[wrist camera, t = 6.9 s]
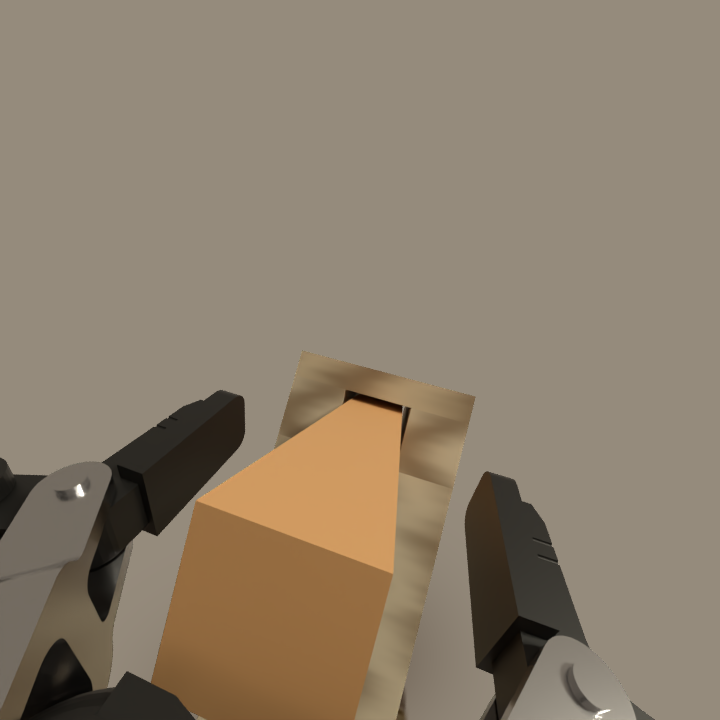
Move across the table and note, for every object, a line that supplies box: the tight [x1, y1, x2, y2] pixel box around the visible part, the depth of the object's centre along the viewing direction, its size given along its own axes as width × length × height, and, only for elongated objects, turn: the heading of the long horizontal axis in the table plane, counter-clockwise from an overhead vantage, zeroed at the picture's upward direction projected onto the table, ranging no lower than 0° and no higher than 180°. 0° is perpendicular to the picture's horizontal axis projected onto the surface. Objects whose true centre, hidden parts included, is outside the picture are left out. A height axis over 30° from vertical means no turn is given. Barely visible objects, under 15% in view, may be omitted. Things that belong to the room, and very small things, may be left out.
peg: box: [151, 394, 403, 720], centre depth 13 cm, size 3×18×3 cm, turn 172°
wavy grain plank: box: [197, 351, 475, 720], centre depth 20 cm, size 10×10×37 cm
